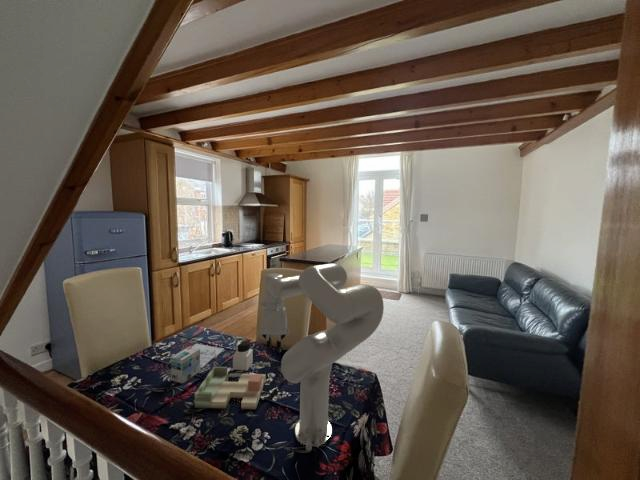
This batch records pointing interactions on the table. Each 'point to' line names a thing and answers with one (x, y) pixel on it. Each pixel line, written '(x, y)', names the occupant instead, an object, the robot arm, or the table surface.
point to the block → (255, 383)
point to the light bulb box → (185, 364)
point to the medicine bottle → (242, 356)
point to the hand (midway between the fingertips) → (273, 348)
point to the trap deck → (226, 390)
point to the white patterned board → (207, 353)
